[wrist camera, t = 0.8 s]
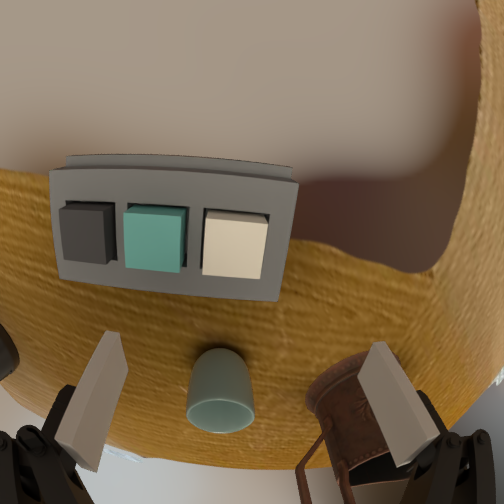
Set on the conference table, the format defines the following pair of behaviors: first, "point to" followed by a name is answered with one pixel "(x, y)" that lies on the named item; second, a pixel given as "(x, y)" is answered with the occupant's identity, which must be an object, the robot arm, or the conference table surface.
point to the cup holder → (348, 432)
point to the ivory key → (234, 244)
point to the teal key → (154, 237)
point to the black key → (88, 232)
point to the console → (197, 203)
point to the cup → (220, 392)
